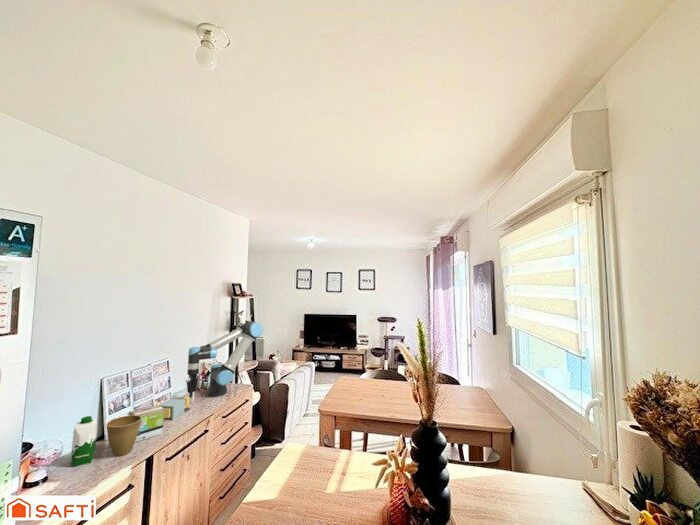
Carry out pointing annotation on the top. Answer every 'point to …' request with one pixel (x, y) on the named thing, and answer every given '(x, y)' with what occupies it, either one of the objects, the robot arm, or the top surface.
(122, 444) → the plant pot
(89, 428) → the milk carton
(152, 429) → the tea box
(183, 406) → the tunnel
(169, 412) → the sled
